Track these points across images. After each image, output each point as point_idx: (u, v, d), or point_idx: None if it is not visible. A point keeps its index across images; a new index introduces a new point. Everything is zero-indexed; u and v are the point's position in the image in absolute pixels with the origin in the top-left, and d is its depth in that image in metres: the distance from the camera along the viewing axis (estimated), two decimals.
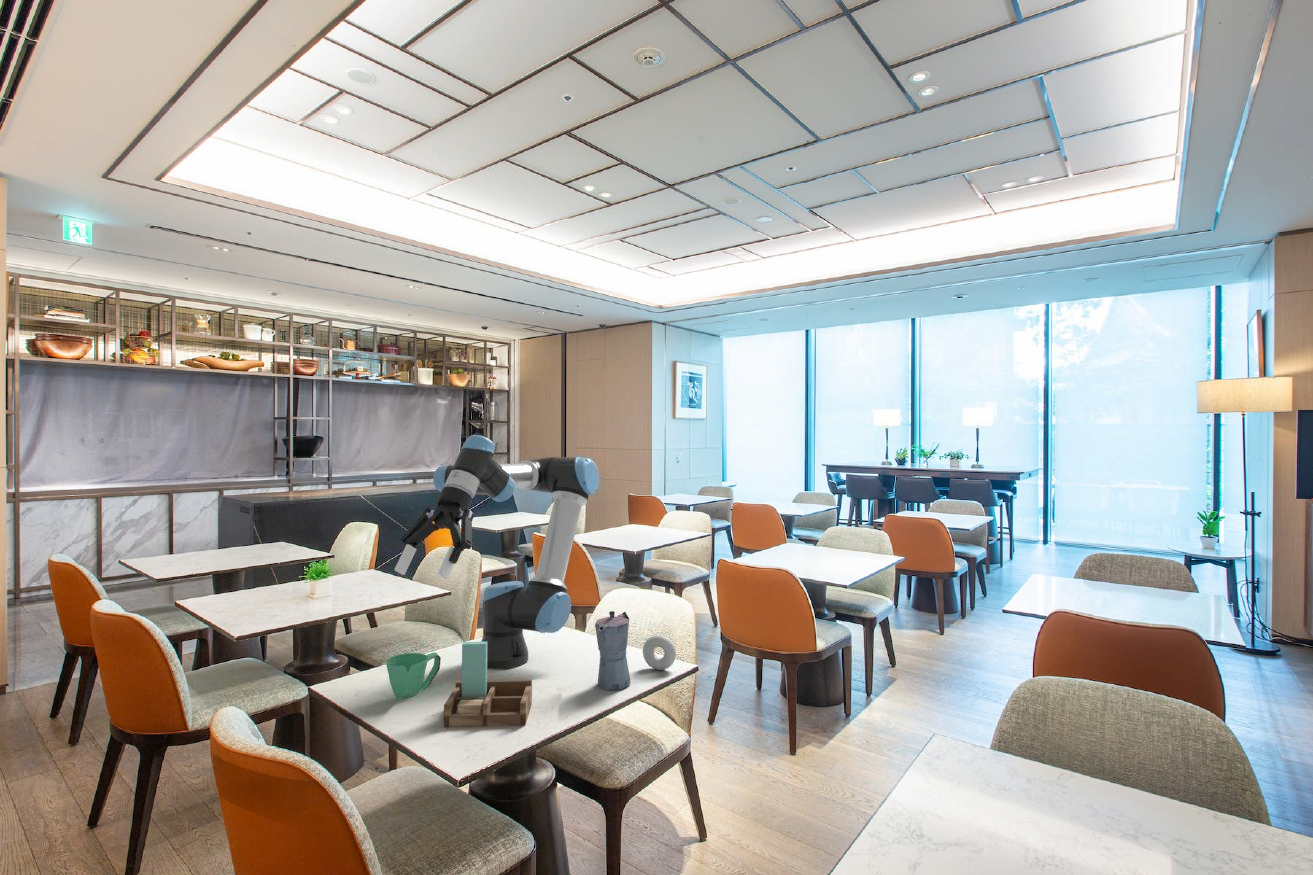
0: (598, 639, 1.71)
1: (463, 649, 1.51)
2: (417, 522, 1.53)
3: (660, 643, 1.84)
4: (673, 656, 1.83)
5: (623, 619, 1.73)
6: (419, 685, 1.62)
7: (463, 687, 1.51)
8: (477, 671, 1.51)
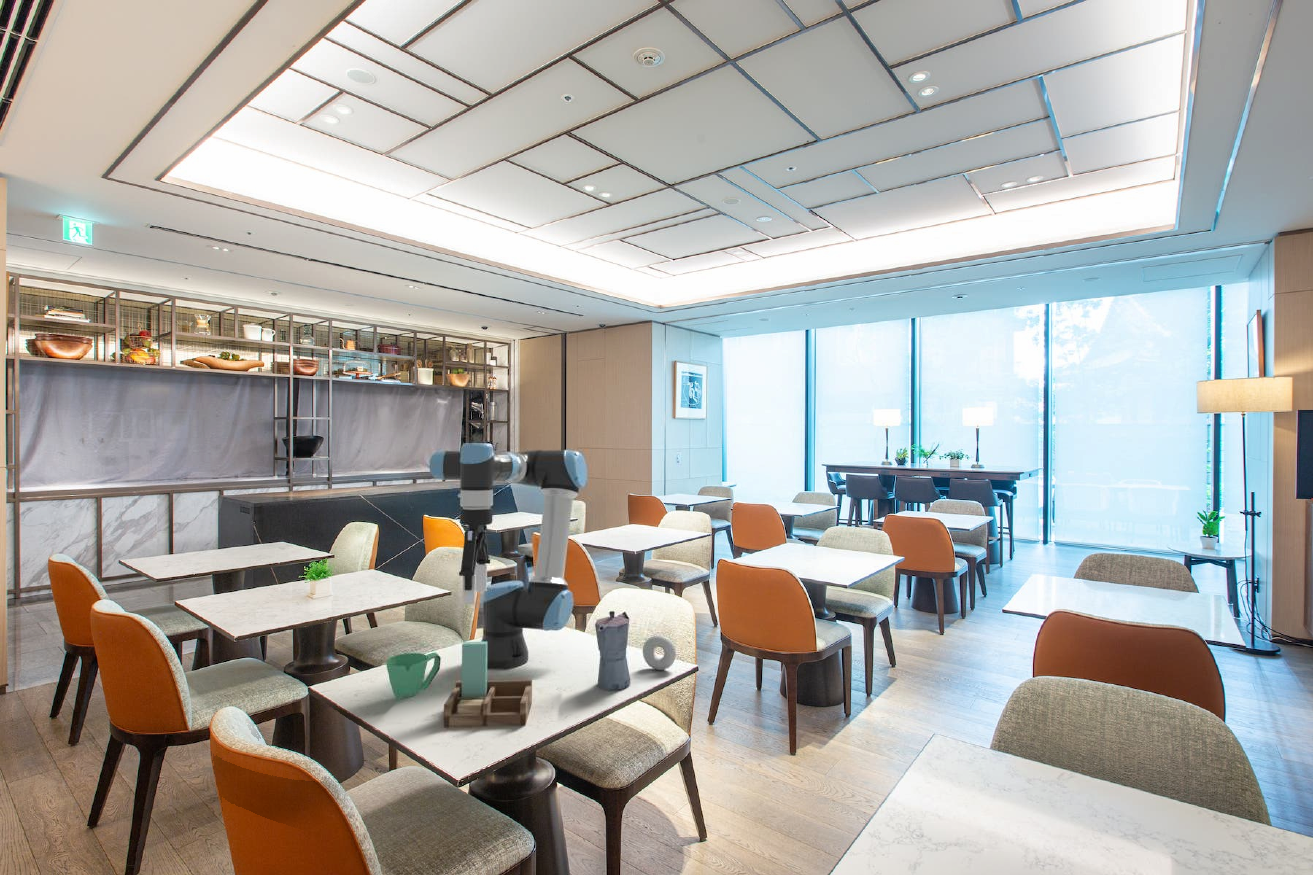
0: (598, 639, 1.71)
1: (463, 649, 1.51)
2: None
3: (660, 643, 1.84)
4: (673, 656, 1.83)
5: (623, 619, 1.73)
6: (419, 685, 1.62)
7: (463, 687, 1.51)
8: (477, 671, 1.51)
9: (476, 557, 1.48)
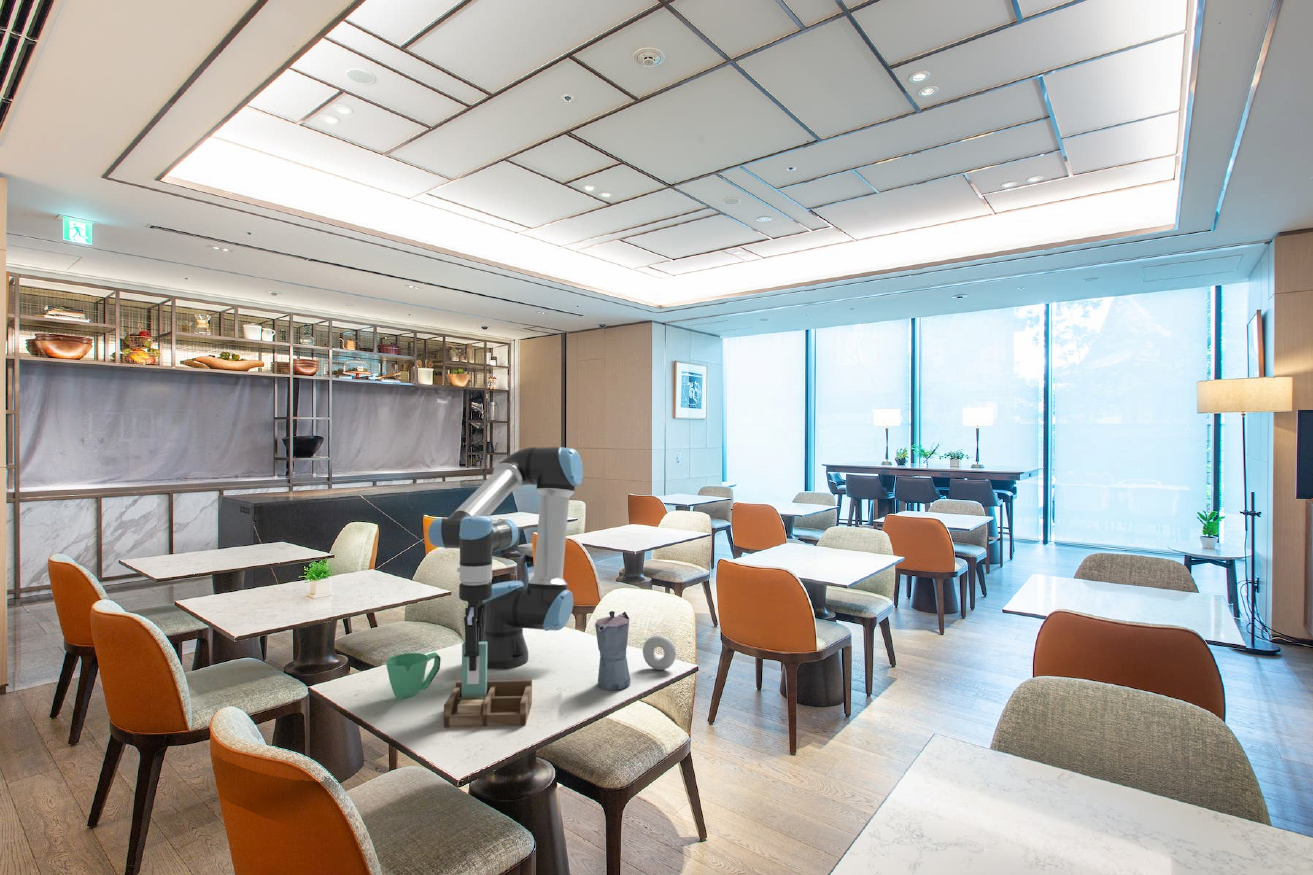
0: (598, 639, 1.71)
1: (463, 649, 1.51)
2: None
3: (660, 643, 1.84)
4: (673, 656, 1.83)
5: (623, 619, 1.73)
6: (419, 685, 1.62)
7: (463, 687, 1.51)
8: None
9: (478, 636, 1.51)
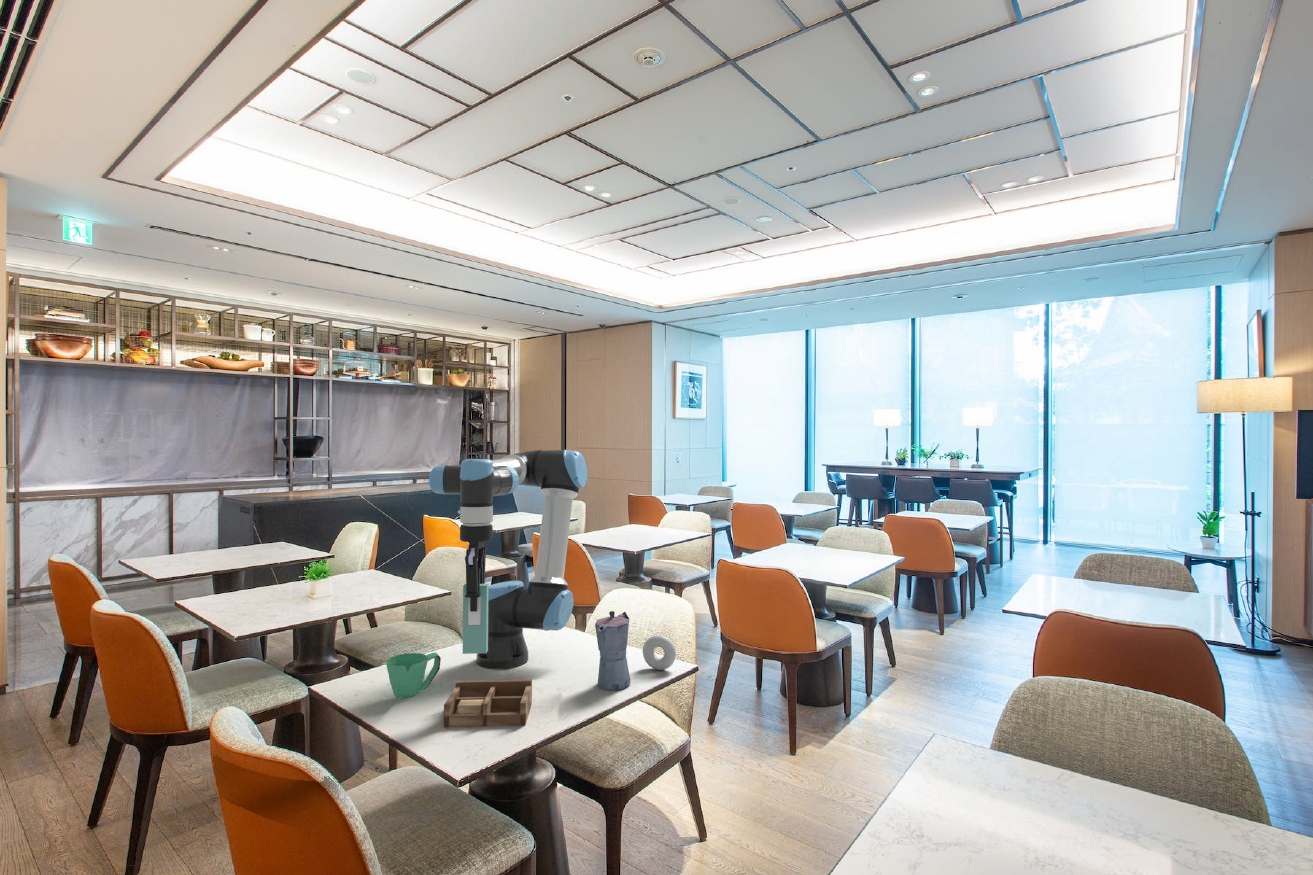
0: (598, 639, 1.71)
1: (464, 590, 1.51)
2: None
3: (660, 643, 1.84)
4: (673, 656, 1.83)
5: (623, 619, 1.73)
6: (419, 685, 1.62)
7: (464, 628, 1.51)
8: None
9: (479, 577, 1.51)
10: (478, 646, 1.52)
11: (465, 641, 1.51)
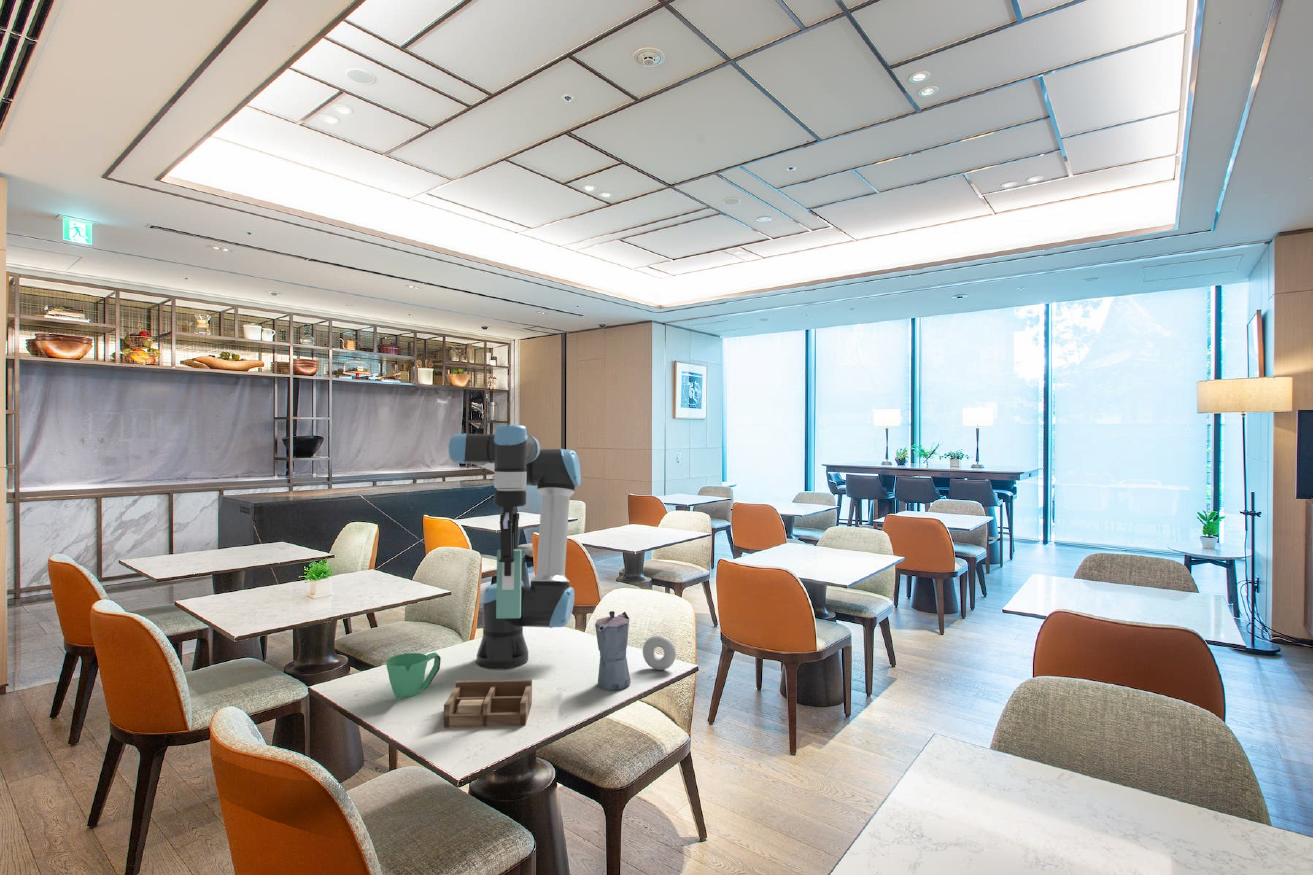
0: (598, 639, 1.71)
1: (498, 555, 1.52)
2: None
3: (660, 643, 1.84)
4: (673, 656, 1.83)
5: (623, 619, 1.73)
6: (419, 685, 1.62)
7: (498, 593, 1.52)
8: None
9: (513, 542, 1.51)
10: (512, 611, 1.52)
11: (499, 606, 1.52)
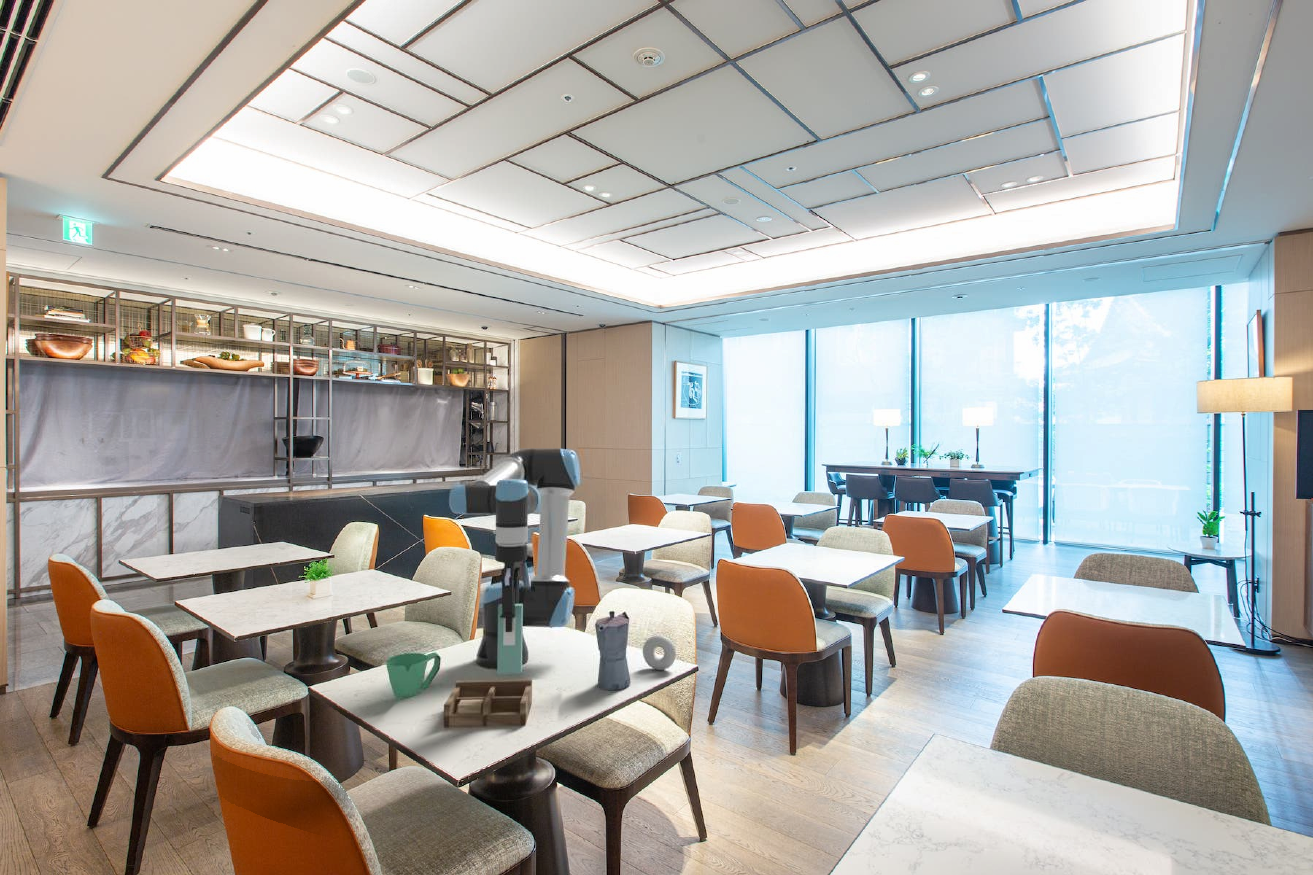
0: (598, 639, 1.71)
1: (499, 610, 1.52)
2: None
3: (660, 643, 1.84)
4: (673, 656, 1.83)
5: (623, 619, 1.73)
6: (419, 685, 1.62)
7: (499, 648, 1.52)
8: None
9: (514, 597, 1.51)
10: (513, 666, 1.52)
11: (500, 661, 1.51)
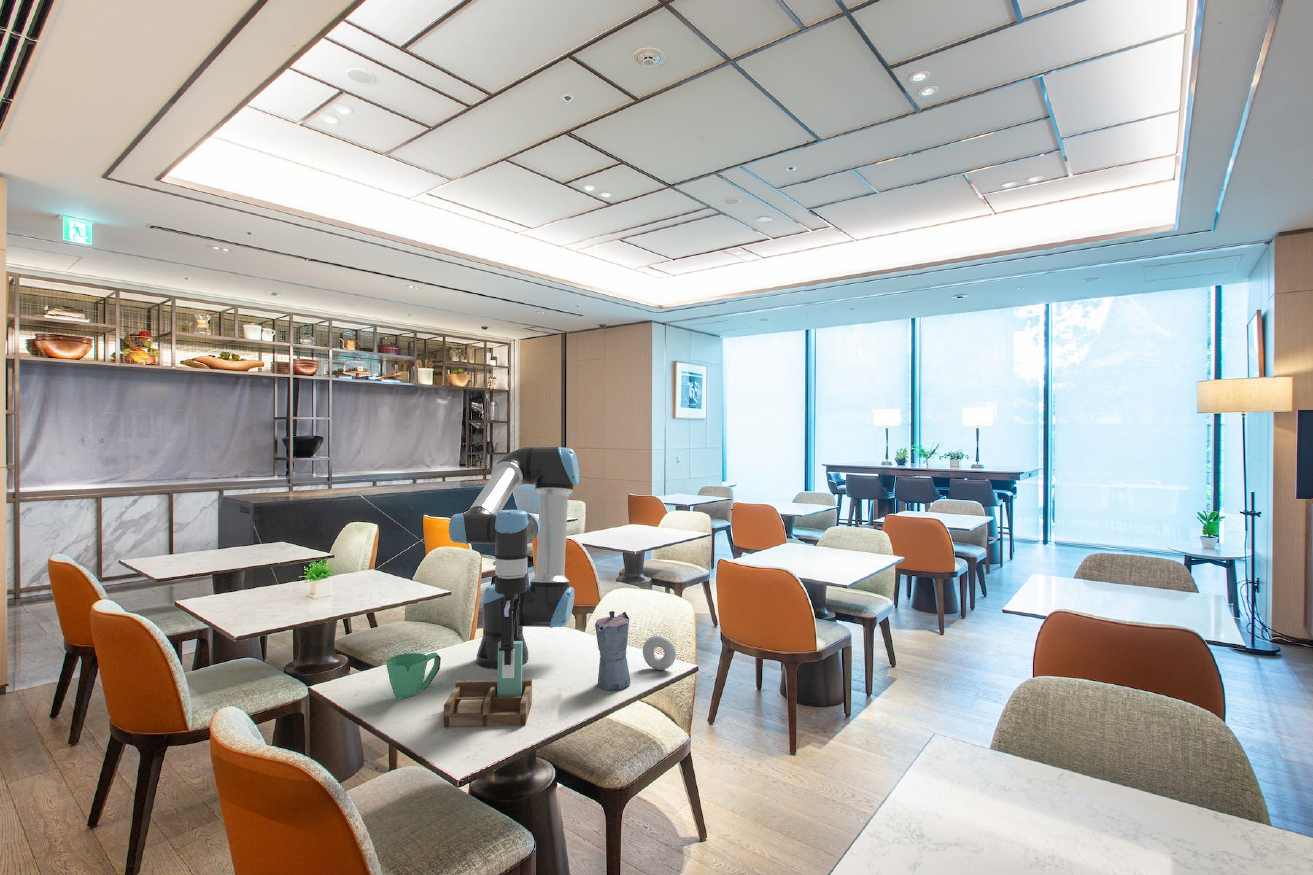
0: (598, 639, 1.71)
1: None
2: None
3: (660, 643, 1.84)
4: (673, 656, 1.83)
5: (623, 619, 1.73)
6: (419, 685, 1.62)
7: (499, 686, 1.52)
8: None
9: (513, 629, 1.50)
10: None
11: None
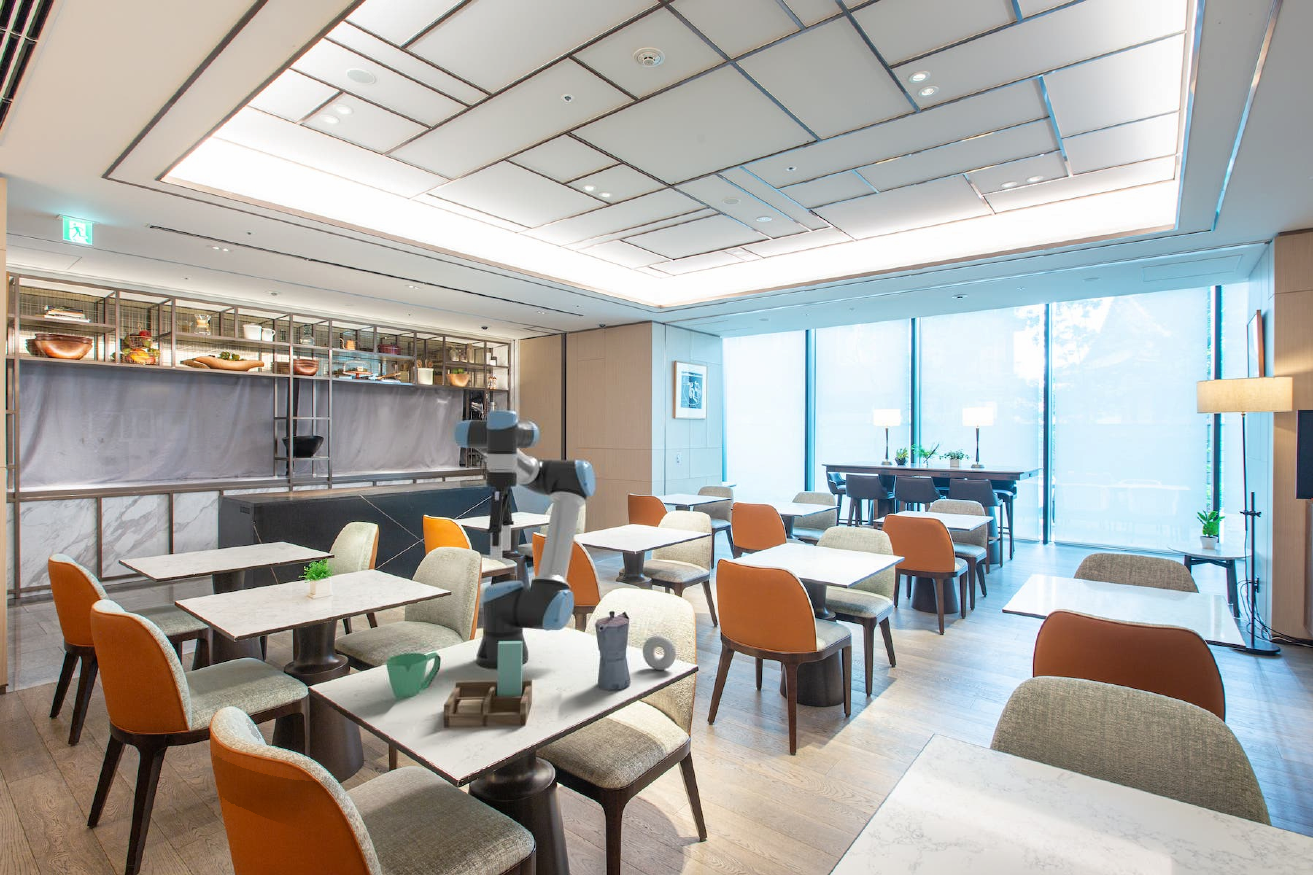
0: (598, 639, 1.71)
1: (499, 648, 1.52)
2: None
3: (660, 643, 1.84)
4: (673, 656, 1.83)
5: (623, 619, 1.73)
6: (419, 685, 1.62)
7: (499, 686, 1.52)
8: (513, 670, 1.52)
9: (502, 516, 1.58)
10: None
11: None
